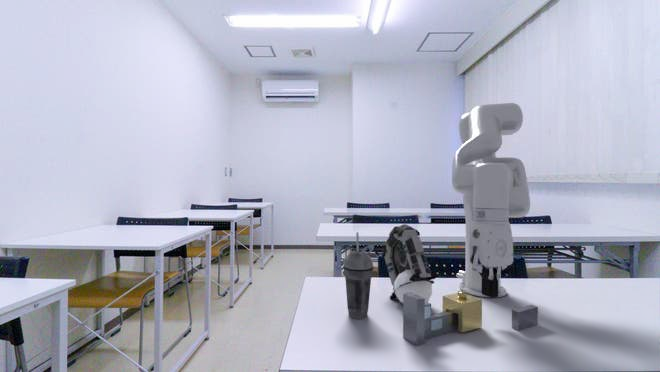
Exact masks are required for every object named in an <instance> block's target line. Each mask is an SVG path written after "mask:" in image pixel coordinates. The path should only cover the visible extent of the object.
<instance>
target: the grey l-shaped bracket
mask: <svg viewBox="0 0 660 372" xmlns="http://www.w3.org/2000/svg"><path fill="white" fill-rule="evenodd" d="M402 304H403V308H402V309H403V311H402V315H403V317H402V321H403V322H402V338H403V339H405V340H407V341H408V342H409V343H411V344H413V345H414V346H417V347H418V346H421V345H425V340H429V339H431V338H435V337H439V336H443V335H446V334H449V333H453V332H456V331H458V324H459V314H457V313H455V312H452V311H450V310H449V311H445V312H442V311H441V312H437V313H433V314H432V303H430V302H429V301H428V302H425V298H423V297H421V296H418V295H416V294H414V293H411V292H410V293H404V294H403V303H402ZM458 332H459V331H458Z"/></svg>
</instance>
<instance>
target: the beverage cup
mask: <svg viewBox="0 0 660 372" xmlns="http://www.w3.org/2000/svg"><path fill="white" fill-rule="evenodd" d="M355 236H356V238H355V239H356V250H352V251H351V252H349V253H348V254H347V255H346V257H345V259H344V262H343V267H342V268H343V274H344V277H345V290H346V291H345V292H346V305H347V312H348V317H349V318H351V319H355V320H363V319H366V318H367V317H368V312H369V305H370V296H371V295H370V293H371V284H372V282H371V281H372V277H373V272H374V269H375V268H374V262H373V259H372V257H371V256H370V255H369V254H368V252H366V251H364V250H361V249H360V245H359V244H360V241H359V240H360V239H359V238H360V237H359V232H356V235H355Z"/></svg>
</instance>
